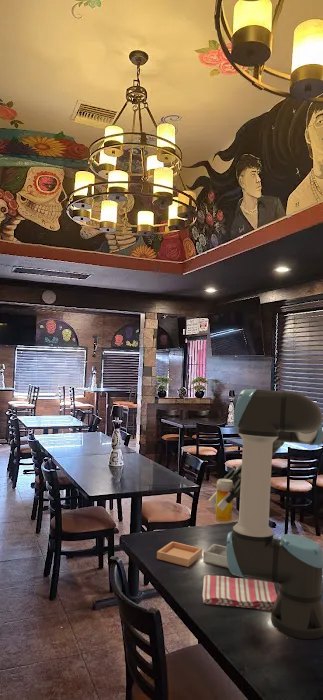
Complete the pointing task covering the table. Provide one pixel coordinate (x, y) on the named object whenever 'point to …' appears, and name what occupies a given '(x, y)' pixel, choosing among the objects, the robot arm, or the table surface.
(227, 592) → the dish towel
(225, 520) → the beer can
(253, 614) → the table surface
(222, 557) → the frame
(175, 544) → the serving tray
